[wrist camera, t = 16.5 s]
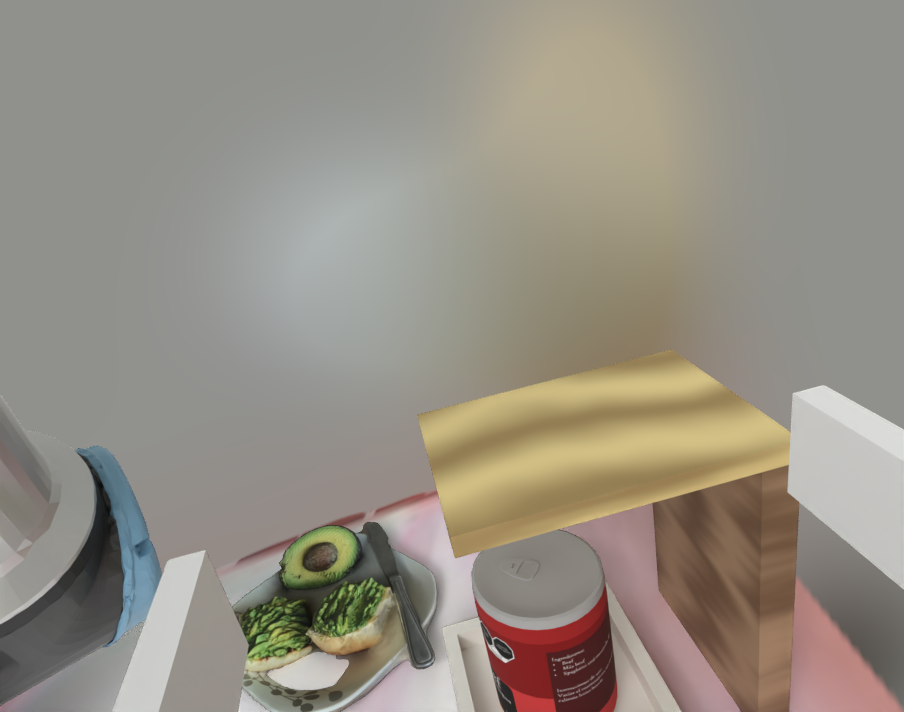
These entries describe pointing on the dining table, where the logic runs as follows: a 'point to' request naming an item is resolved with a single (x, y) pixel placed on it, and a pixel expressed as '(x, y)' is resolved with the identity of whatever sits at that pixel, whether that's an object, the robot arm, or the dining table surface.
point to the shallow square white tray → (638, 681)
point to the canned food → (546, 624)
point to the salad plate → (337, 616)
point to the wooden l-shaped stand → (643, 496)
